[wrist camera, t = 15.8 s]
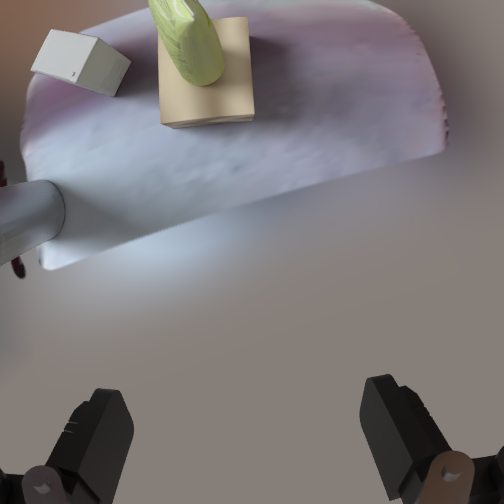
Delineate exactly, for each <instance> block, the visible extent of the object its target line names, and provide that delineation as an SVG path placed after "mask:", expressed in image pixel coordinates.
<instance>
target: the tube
mask: <svg viewBox="0 0 504 504" xmlns="http://www.w3.org/2000/svg"><path fill="white" fill-rule="evenodd" d="M148 3H149V6H150V9H151V12H152V15H153V18H154V21H155V24H156V26H157V29H158V32H159V34H160V36H161V39H162V41H163V43H164V46H165V48H166V50H167V52H168V54H169V56H170V58H171V59H172V61H173V63H174V65H175V67H176V68H177V70H178V72H179V73H180V75H181V76H182V78H183V79H184V80H185V81H186V82H188V83H190V84H192V85H195V86H205V85H209V84H211V83H213V82H215V81H216V80H218V79H219V78H220V77H221V75H222V74H223V71H224V68H225V59H224V54H223V50H222V46H221V43H220V40H219V37H218V34H217V32H216V29H215V27H214V25H213V23H212V21H211V19H210V18H209V16H208V14H207V13H206V11H205V10H204V8H203V7H202V6H201V4H200V3H199V1H198V0H148Z"/></svg>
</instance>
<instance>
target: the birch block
mask: <svg viewBox="0 0 504 504" xmlns="http://www.w3.org/2000/svg"><path fill="white" fill-rule="evenodd" d="M211 21H212V23H213V25H214V27H215V29H216V32H217V34H218V37H219V40H220V43H221V46H222V50H223V54H224V59H225V68H224V71H223V74H222V75H221V77H220V78H219V79H218V80H216V81H215V82H213V83H211V84H209V85H205V86H195V85H192V84H190V83H188V82H186V81H185V80H184V79H183V78H182V76H181V75H180V73H179V72H178V70H177V68H176V67H175V65H174V63H173V61H172V59H171V58H170V56H169V54H168V52H167V50H166V48H165V46H164V43H163V41H162V39H161V36H160V34H159V32H158V70H159V99H160V118H161V124H163V125H165V126H168V127H170V128H173V129H174V128H182V127H190V126H198V125H207V124H218V123H229V122H242V121H253V119H254V114H255V113H254V98H253V85H252V71H251V58H250V45H249V32H248V19H247V17H235V18H222V19H212V20H211Z"/></svg>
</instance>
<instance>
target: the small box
mask: <svg viewBox="0 0 504 504" xmlns="http://www.w3.org/2000/svg"><path fill="white" fill-rule="evenodd" d="M130 64H131V61H130V60H129V59H128V58H126V57H125V56H124V55H122V54H121V53H119V52H118V51H117V50H115V49H114V48H113V47H111V46H110V45H108V44H107V43H106V42H104V41H103V40H101V39H100V38H99V37H94V36H89V35H84V34H79V33H74V32H68V31H62V30H56V29H51V31H50V33H49V34H48V36H47V38H46V40H45V42H44V44H43V46H42V48H41V50H40V52H39V54H38V56H37V58H36V60H35V62H34V64H33V66H32V69H31V71H33V72H36V73H40V74H43V75H46V76H49V77H53V78H56V79H59V80H62V81H65V82H68V83H71V84H74V85H77V86H81V87H84V88H87V89H90V90H93V91H96V92H99V93H102V94H105V95H108V96H111V97H114V96H115V93H116V91H117V89H118V87H119V85H120V83H121V81H122V79H123V77H124V75H125V73H126V71H127V69H128V67H129V66H130Z"/></svg>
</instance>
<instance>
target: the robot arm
mask: <svg viewBox="0 0 504 504" xmlns="http://www.w3.org/2000/svg"><path fill="white" fill-rule="evenodd" d="M64 217H65V208H64V202H63V199H62V196H61V194H60V192H59V191H58V189H57V188H56V187H55V186H54V185H53V184H52V183H50V182H49V181H46V180H36V181H31V182H26V183H20V184H15V185H10V186H6V187H1V188H0V266H2V265H3V264H5V263H7V262H9V261H10V260H12V259H14V258H16V257H18V256H19V255H21V254H23V253H25V252H27V251H29V250H30V249H32V248H34V247H36V246H38V245H40V244H42V243H44V242H46V241H48V240H50V239H52V238H54V237H55V236H56V235H57V234H58V233H59V231H60V230H61V228H62V226H63V222H64ZM360 422H361V427H362V429H363V432H364V434H365V437H366V439H367V442H368V445H369V447H370V449H371V452H372V455H373V458H374V460H375V463H376V465H377V468H378V471H379V473H380V476H381V479H382V482H383V484H384V487H385V490H386V492H387V495H388V498H389V501H391V500H395V499H398V498H401V499H402V502H403V504H504V446H503V447H502V448H501V449H500V451H499V452H498V454H497V455H493V456H487V457H481V458H473V459H471V458H470V457H469V456H468V455H466V454H465V453H462V452H459V451H453V450H452V449H451V448H450V446H449V445H448V443H447V441H446V440H445V438H444V436H443V435H442V433H441V431H440V430H439V428H438V426H437V425H436V423H435V422H434V420H433V418H432V417H431V416H430V415H429V412H428V410H427V409H426V407H424V404H423V402H422V401H421V399H420V398H419V396H418V395H417V393H415V392H414V391H412V390H411V389H410V388H408V387H407V386H401V387H399V386H398V385H397V383H396V381H395V380H394V378H393V377H392V376H391V375H390V374H386V375H381V376H376V377H370V378H367V380H366V383H365V388H364V393H363V398H362V402H361V407H360ZM133 435H134V424H133V421H132V418H131V416H130V413H129V411H128V409H127V407H126V404H125V402H124V399H123V397H122V394H121V393H120V391H119V390H112V389H101V388H98V389H96V390H95V391H94V393H93V395H92V397H91V399H90V400H89V402H88V401H84V402H83V403H82V404H81V405H80V406H78V407H77V408H76V409H75V410H74V412H73V413H72V415H71V417H70V419H69V423H67V424H66V426H65V428H64V432H62V434H61V436H60V437H59V439H58V441H57V443H56V445H55V447H54V449H53V451H52V453H51V455H50V457H49V459H48V461H47V462H46V464H45V465H40V466H35V467H33V468H31V469H30V470H28V471H27V472H26V473H25V475H17V474H5V473H4V472H3V471H2V470H1V469H0V504H112V503H113V499H114V495H115V492H116V489H117V486H118V483H119V479H120V476H121V472H122V470H123V466H124V463H125V460H126V457H127V454H128V451H129V448H130V444H131V442H132V438H133Z"/></svg>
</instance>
